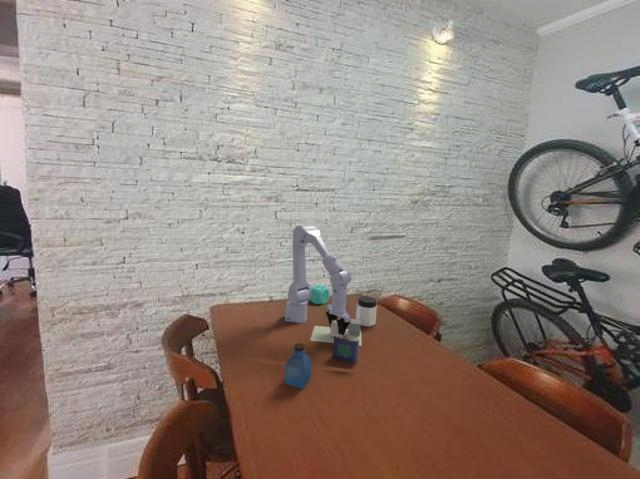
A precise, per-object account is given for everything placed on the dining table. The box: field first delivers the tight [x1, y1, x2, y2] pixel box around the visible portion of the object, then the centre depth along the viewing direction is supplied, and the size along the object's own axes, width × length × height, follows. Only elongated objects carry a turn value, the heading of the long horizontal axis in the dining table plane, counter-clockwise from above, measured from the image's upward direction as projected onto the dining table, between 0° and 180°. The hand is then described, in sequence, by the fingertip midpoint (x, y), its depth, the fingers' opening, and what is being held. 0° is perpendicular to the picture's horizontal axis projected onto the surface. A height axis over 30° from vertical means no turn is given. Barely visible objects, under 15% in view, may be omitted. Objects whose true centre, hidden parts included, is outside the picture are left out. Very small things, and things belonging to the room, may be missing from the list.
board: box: [309, 325, 362, 347], centre depth 135 cm, size 20×14×4 cm
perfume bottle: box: [284, 342, 312, 390], centre depth 103 cm, size 6×6×12 cm
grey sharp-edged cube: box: [348, 318, 362, 336], centre depth 138 cm, size 5×5×5 cm
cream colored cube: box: [330, 320, 338, 337], centre depth 134 cm, size 5×5×5 cm
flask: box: [332, 333, 359, 363], centre depth 116 cm, size 9×3×11 cm, turn 68°
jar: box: [355, 295, 378, 328], centre depth 149 cm, size 9×8×12 cm
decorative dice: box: [309, 284, 331, 305], centre depth 175 cm, size 8×8×8 cm
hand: (336, 332), depth 134 cm, fingers closed on cream colored cube, 6 cm apart
